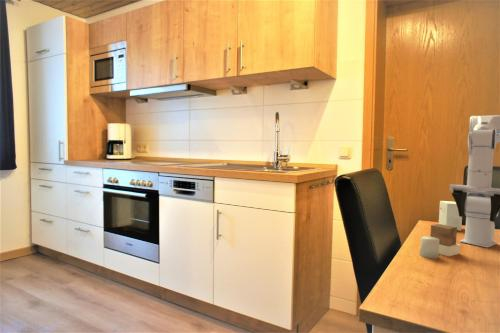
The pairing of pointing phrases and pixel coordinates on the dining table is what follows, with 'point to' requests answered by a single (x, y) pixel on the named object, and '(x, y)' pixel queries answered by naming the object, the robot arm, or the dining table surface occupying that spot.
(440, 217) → the small box
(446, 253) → the cream block
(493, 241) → the robot arm
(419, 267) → the dining table surface
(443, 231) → the walnut cube
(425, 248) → the cream smooth round part
